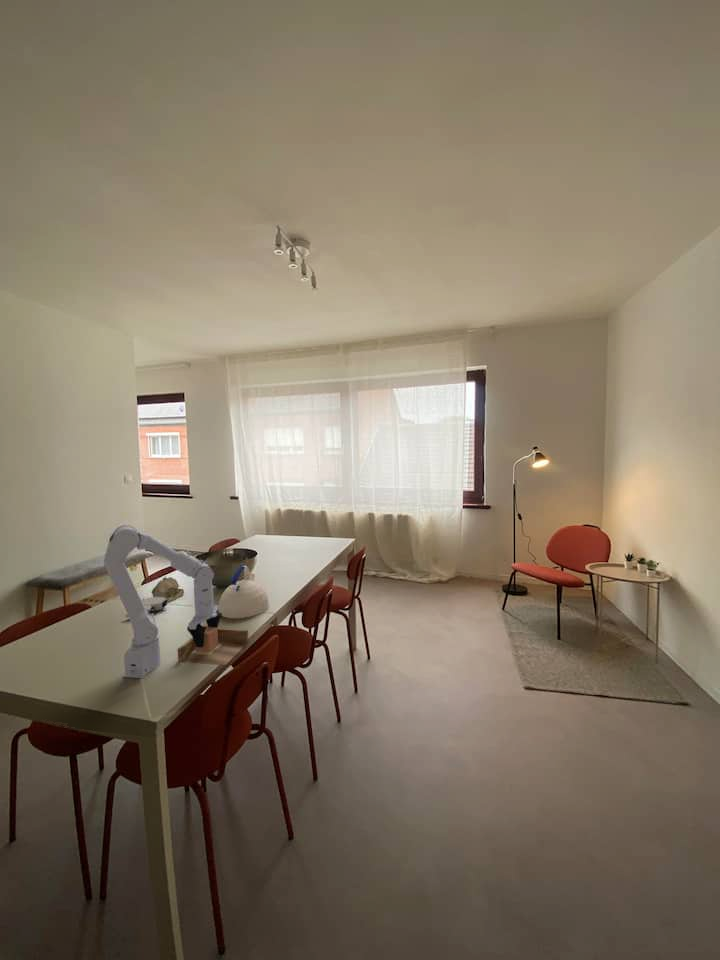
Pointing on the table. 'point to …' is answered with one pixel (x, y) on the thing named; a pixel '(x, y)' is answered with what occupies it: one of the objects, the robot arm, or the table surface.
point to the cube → (209, 640)
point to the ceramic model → (168, 589)
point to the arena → (220, 655)
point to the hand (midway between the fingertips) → (206, 641)
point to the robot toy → (153, 604)
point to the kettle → (243, 597)
